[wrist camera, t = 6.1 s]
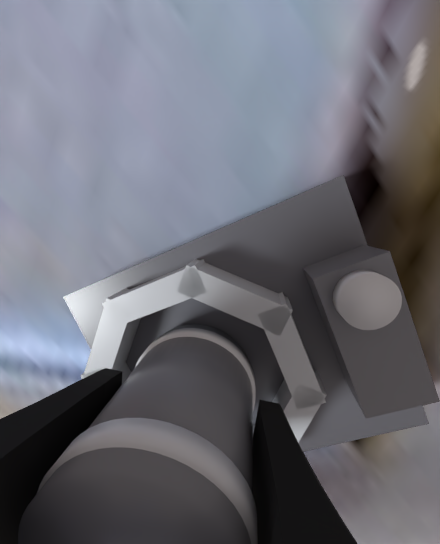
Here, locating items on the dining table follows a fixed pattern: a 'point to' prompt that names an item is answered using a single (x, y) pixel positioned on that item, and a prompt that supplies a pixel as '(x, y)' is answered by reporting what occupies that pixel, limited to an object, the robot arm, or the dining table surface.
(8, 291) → the dining table surface
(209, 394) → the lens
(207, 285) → the grey base plate
